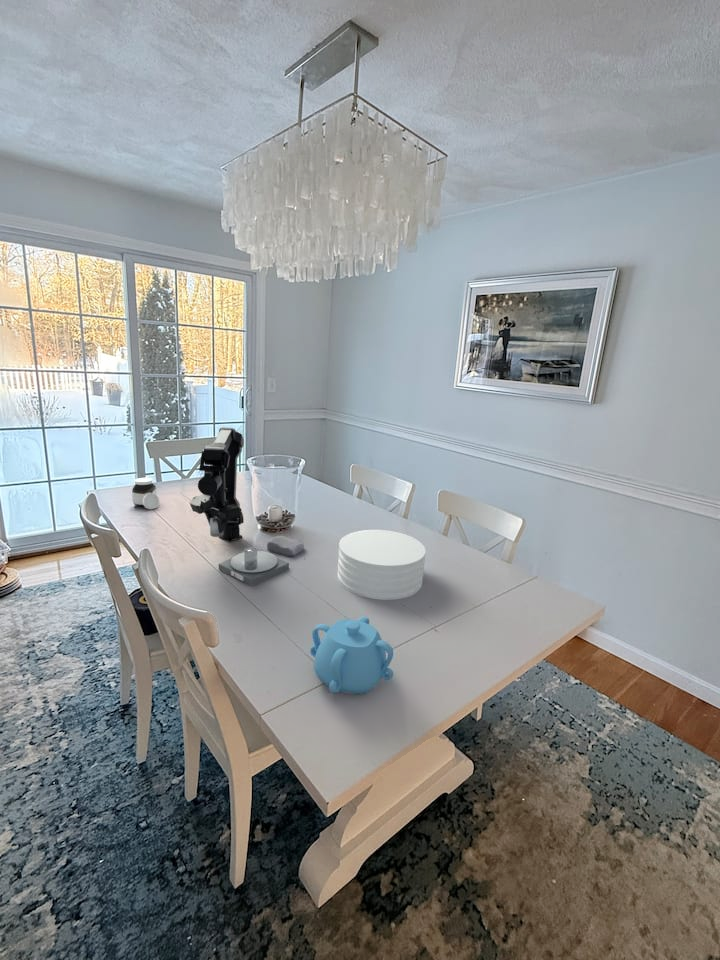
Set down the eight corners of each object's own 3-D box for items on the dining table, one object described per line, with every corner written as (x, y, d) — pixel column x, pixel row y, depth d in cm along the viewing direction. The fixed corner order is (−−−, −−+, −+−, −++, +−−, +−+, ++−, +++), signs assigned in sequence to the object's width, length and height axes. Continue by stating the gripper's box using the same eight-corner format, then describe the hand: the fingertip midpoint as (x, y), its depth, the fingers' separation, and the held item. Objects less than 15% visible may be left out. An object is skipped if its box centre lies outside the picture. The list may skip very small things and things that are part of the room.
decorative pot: (321, 709, 92) (324, 653, 88) (307, 659, 107) (309, 608, 103) (395, 696, 97) (401, 642, 93) (371, 650, 112) (376, 601, 108)
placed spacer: (241, 567, 142) (241, 550, 141) (251, 563, 146) (251, 546, 144) (250, 571, 140) (250, 554, 139) (259, 567, 143) (260, 550, 142)
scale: (217, 569, 146) (216, 561, 145) (256, 554, 159) (256, 546, 158) (250, 586, 137) (250, 577, 136) (288, 568, 150) (289, 560, 150)
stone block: (280, 545, 172) (264, 550, 163) (282, 533, 171) (266, 537, 162) (306, 554, 167) (291, 559, 158) (308, 542, 167) (293, 546, 158)
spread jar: (144, 500, 205) (142, 476, 202) (167, 503, 204) (165, 478, 201) (127, 508, 194) (125, 483, 190) (151, 511, 192) (150, 485, 189)
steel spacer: (207, 534, 148) (207, 517, 146) (218, 531, 151) (217, 514, 149) (215, 537, 146) (215, 520, 144) (225, 534, 149) (225, 517, 147)
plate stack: (377, 552, 168) (380, 523, 165) (439, 581, 149) (443, 549, 146) (319, 574, 148) (321, 542, 145) (381, 610, 130) (385, 574, 126)
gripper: (176, 483, 143) (178, 529, 147) (212, 497, 132) (213, 546, 136) (206, 477, 151) (207, 521, 156) (242, 490, 141) (242, 536, 145)
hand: (216, 530), depth 148 cm, fingers closed on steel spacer, 4 cm apart
